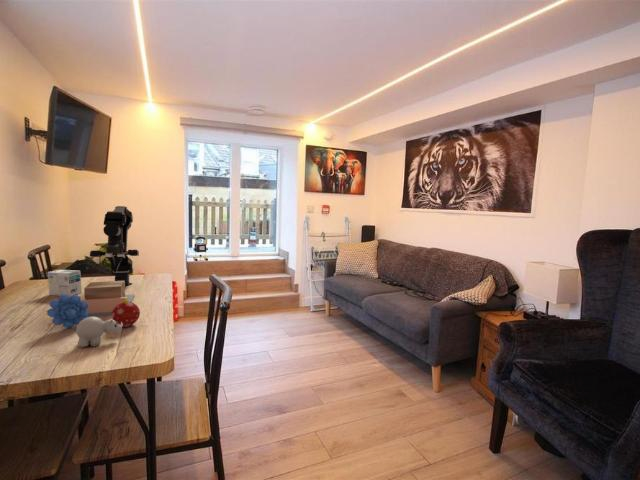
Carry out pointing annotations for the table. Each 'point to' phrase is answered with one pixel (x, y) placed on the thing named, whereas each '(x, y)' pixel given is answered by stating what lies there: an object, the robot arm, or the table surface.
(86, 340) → the round bodied animal figurine
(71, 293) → the light bulb box
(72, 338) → the table surface
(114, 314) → the christmas ornament
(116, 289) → the walnut slab
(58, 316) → the blue lumpy rosette
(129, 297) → the slate board
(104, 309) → the stop bar
